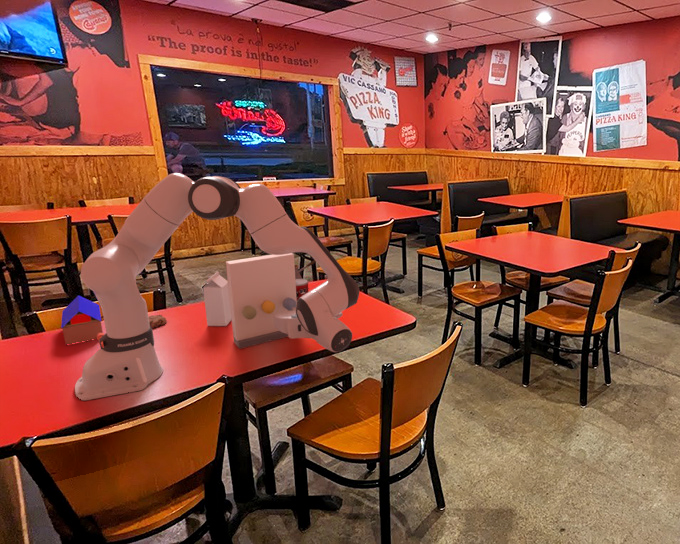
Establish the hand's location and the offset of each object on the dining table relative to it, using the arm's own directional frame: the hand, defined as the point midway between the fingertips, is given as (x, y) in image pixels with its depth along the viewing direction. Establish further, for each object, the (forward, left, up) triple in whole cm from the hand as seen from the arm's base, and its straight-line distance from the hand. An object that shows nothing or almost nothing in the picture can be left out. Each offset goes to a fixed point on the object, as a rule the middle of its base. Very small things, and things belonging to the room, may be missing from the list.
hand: (295, 309), depth 143 cm
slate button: (0, +6, -2) cm, 6 cm away
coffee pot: (+25, +47, -12) cm, 55 cm away
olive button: (-14, +6, -2) cm, 15 cm away
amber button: (-7, +7, -2) cm, 10 cm away
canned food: (+15, +30, -12) cm, 36 cm away
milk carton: (-17, +32, -12) cm, 38 cm away
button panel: (-7, +10, -12) cm, 17 cm away
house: (-61, +51, -12) cm, 81 cm away
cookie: (-39, +45, -12) cm, 61 cm away
